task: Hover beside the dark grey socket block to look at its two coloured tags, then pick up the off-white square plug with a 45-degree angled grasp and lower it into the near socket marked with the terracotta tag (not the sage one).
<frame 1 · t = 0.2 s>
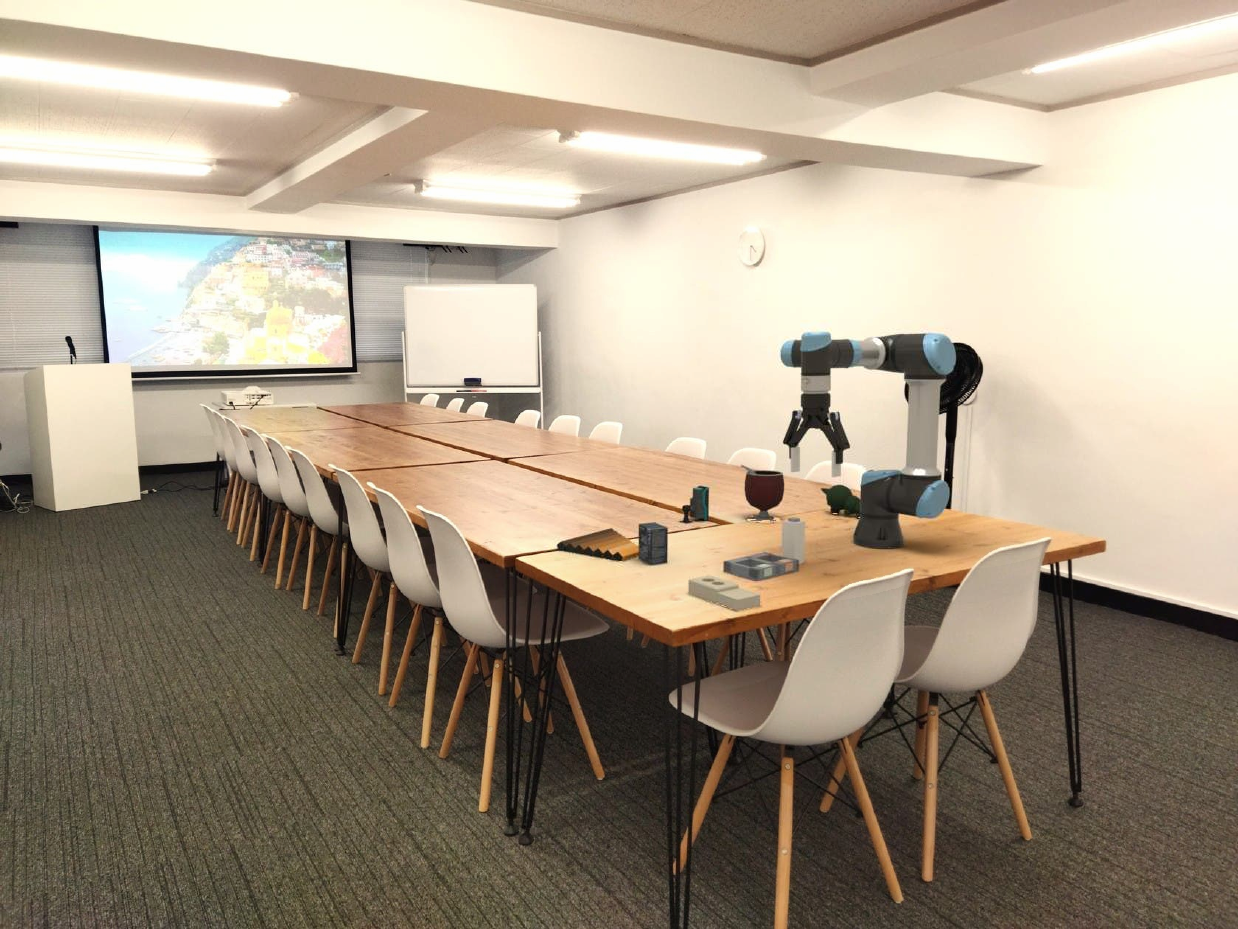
hand: (815, 474, 223), 28 cm above the table, tool pointing down, fingers open, 13 cm apart
pan flute: (614, 550, 261), on the table
plug: (792, 562, 243), on the table
box: (652, 562, 244), on the table
mate gourd: (761, 520, 304), on the table
socket block: (761, 571, 233), on the table
toy figurine: (851, 517, 312), on the table
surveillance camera: (693, 521, 303), on the table
electrical outlet: (722, 602, 207), on the table
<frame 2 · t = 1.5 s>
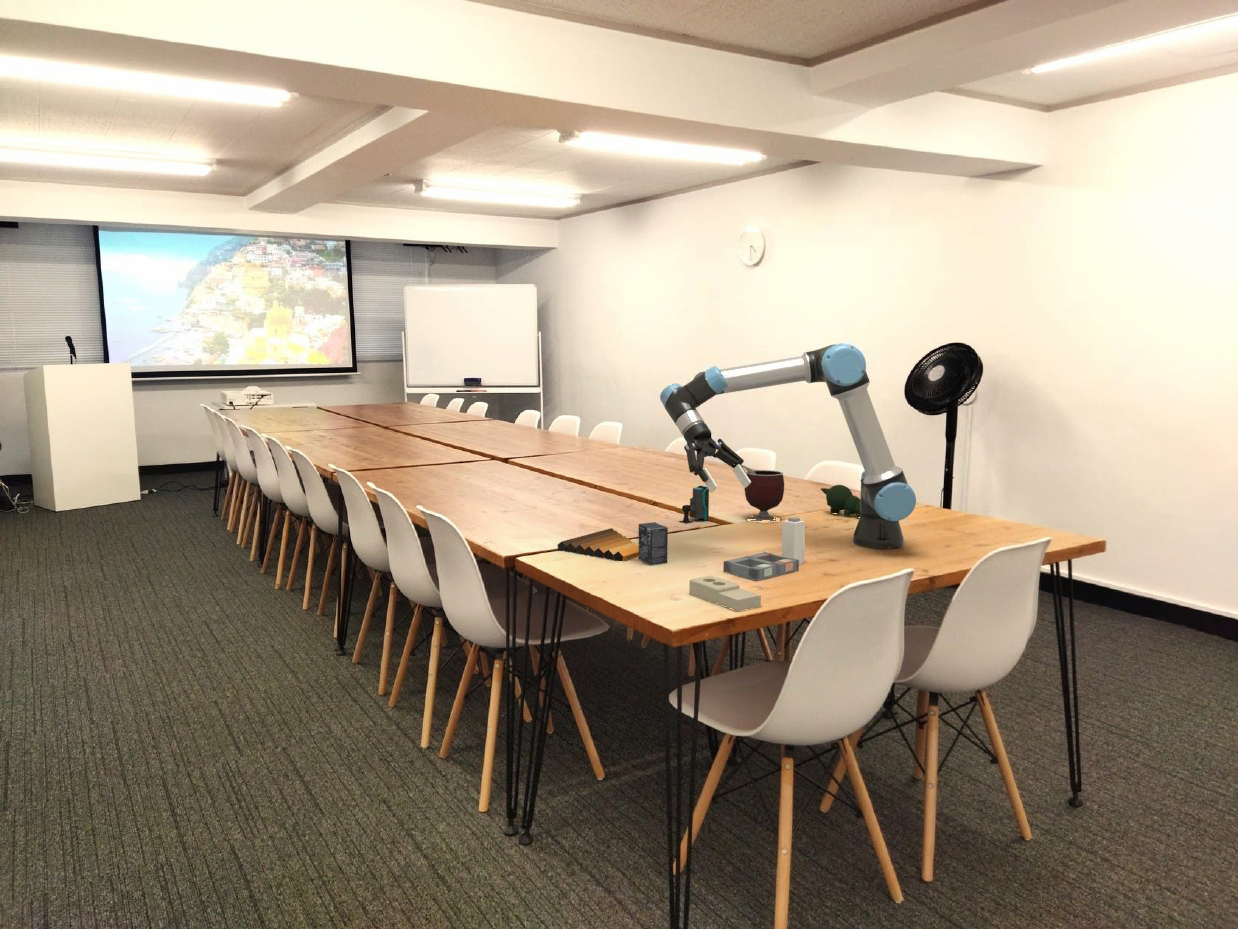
hand: (731, 487, 239), 22 cm above the table, tool tilted 45°, fingers open, 13 cm apart
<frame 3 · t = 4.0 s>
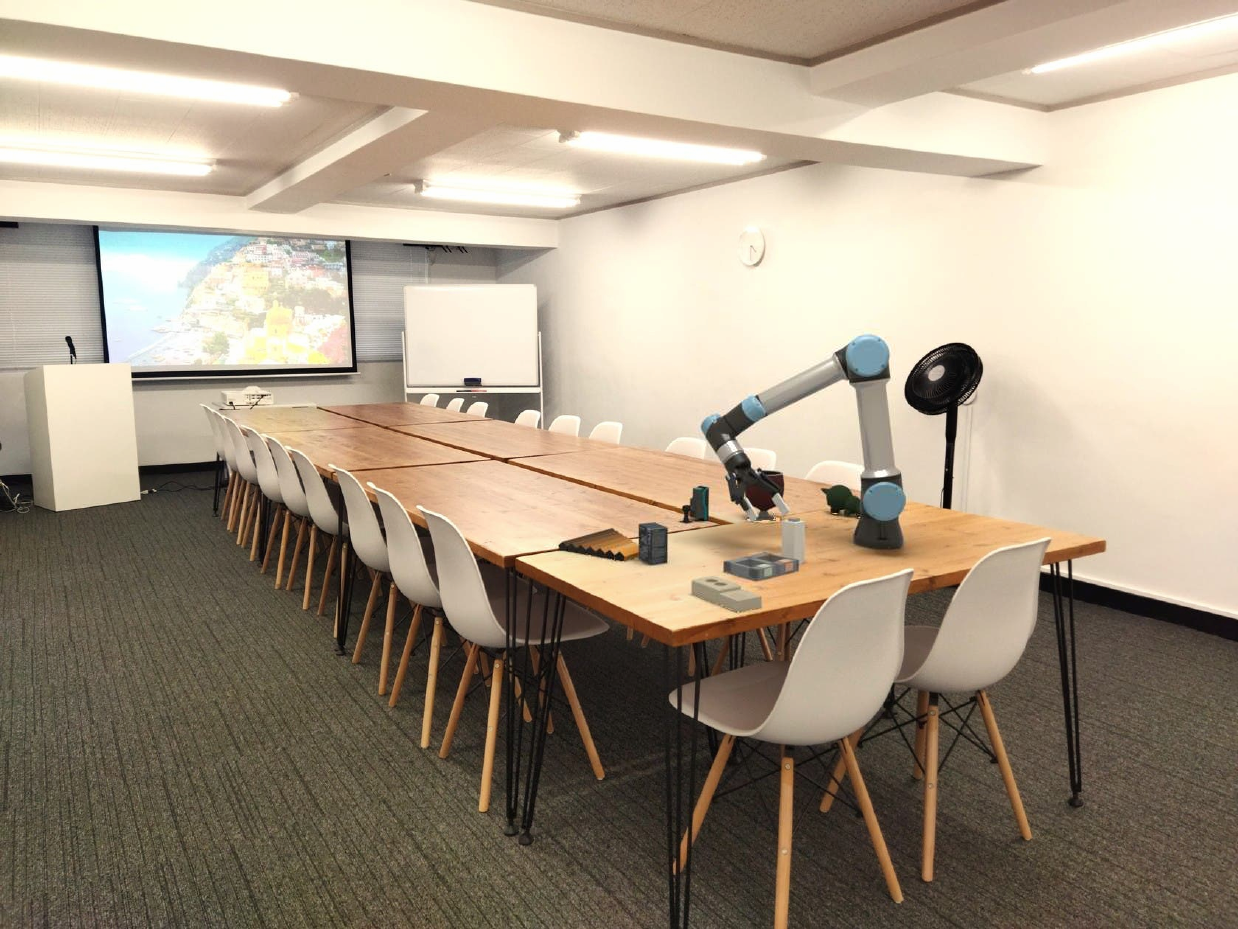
hand: (771, 516, 247), 12 cm above the table, tool tilted 45°, fingers open, 13 cm apart
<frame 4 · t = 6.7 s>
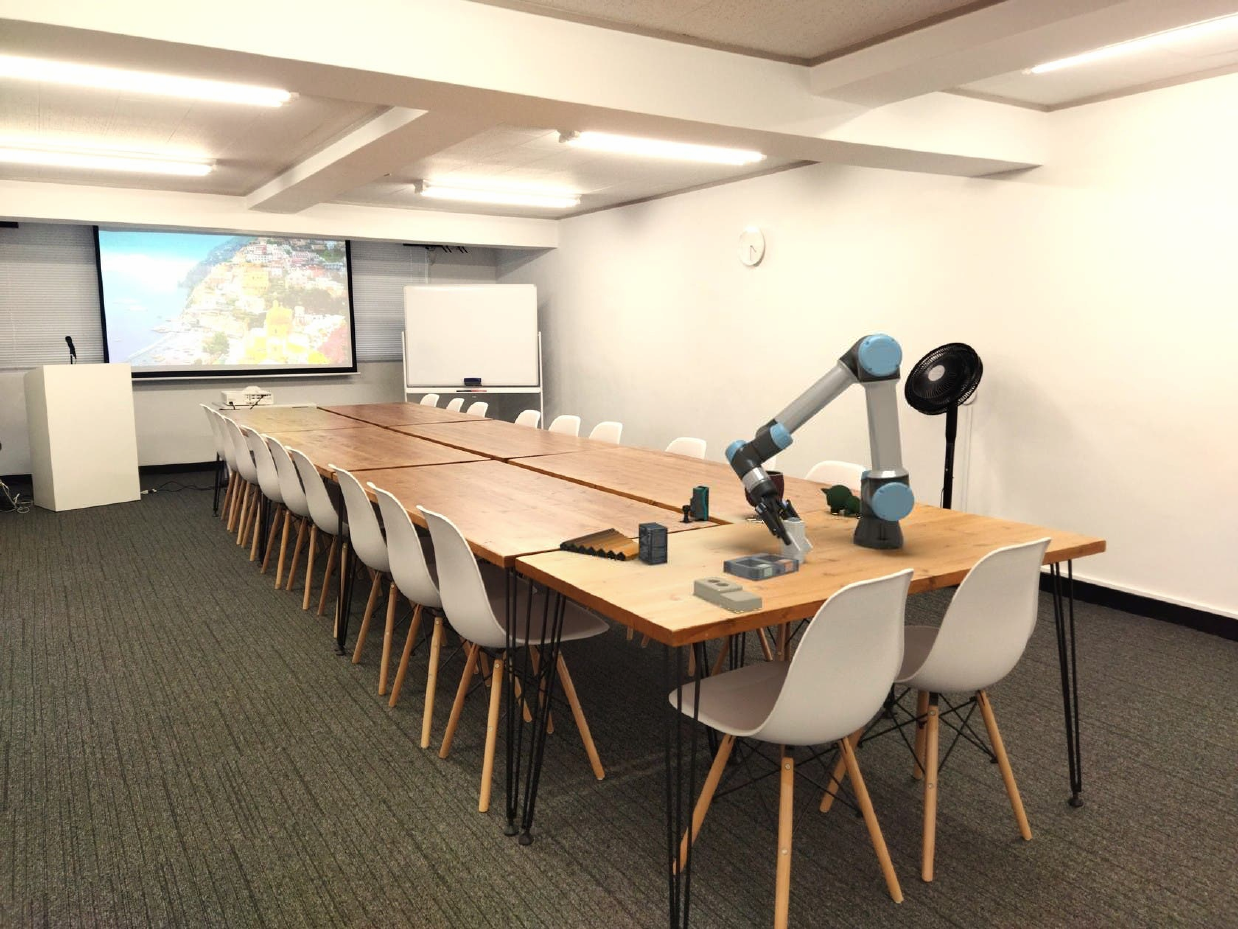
hand: (803, 552, 240), 4 cm above the table, tool tilted 45°, fingers closed on plug, 4 cm apart
plug: (792, 562, 243), on the table, touching gripper
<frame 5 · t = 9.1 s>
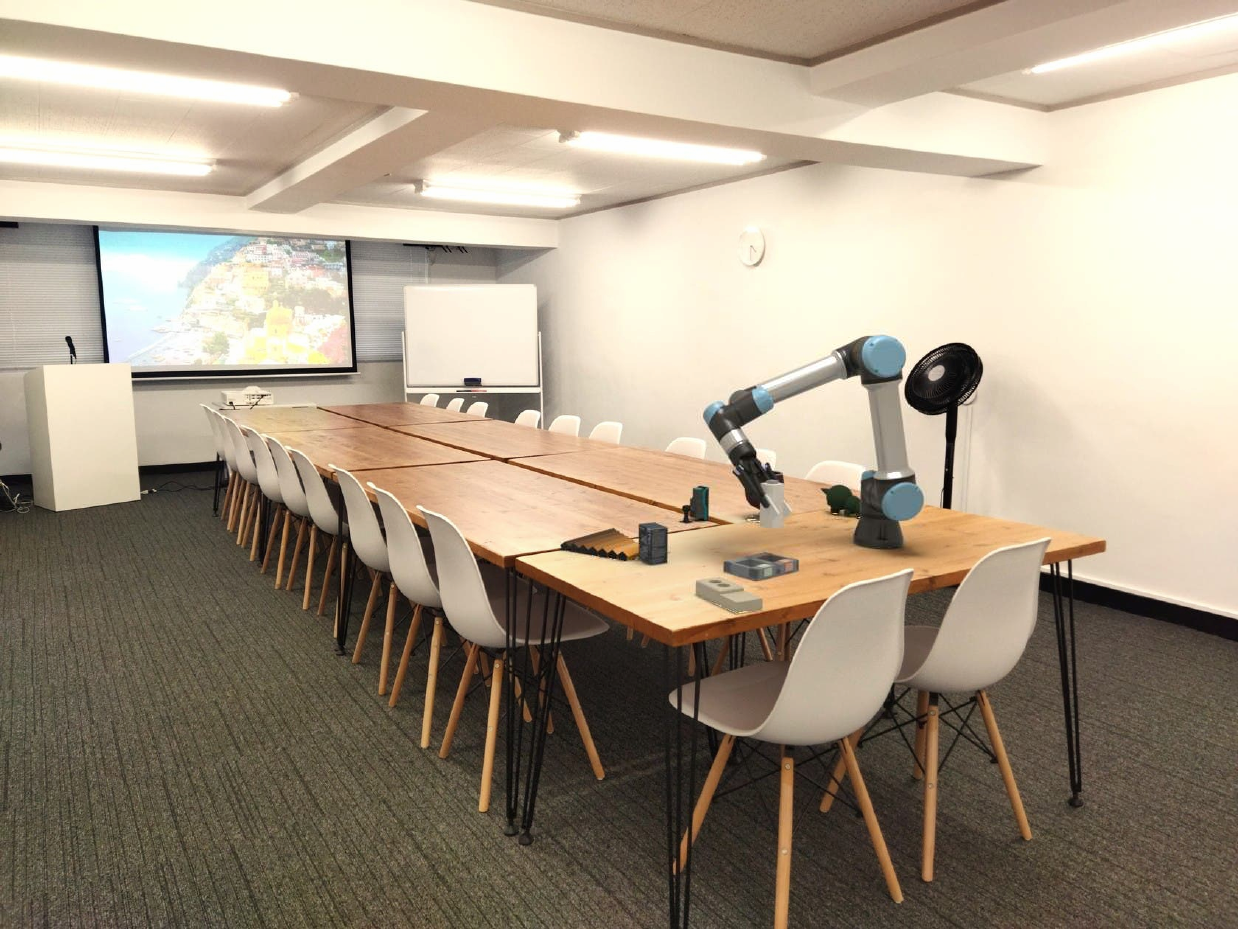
hand: (782, 515, 231), 16 cm above the table, tool tilted 45°, fingers closed on plug, 4 cm apart
plug: (771, 526, 235), point 12 cm above the table, touching gripper
when the fingers open (5 cm above the table, at t = 11.5 s): plug stays where it is, resting on socket block.
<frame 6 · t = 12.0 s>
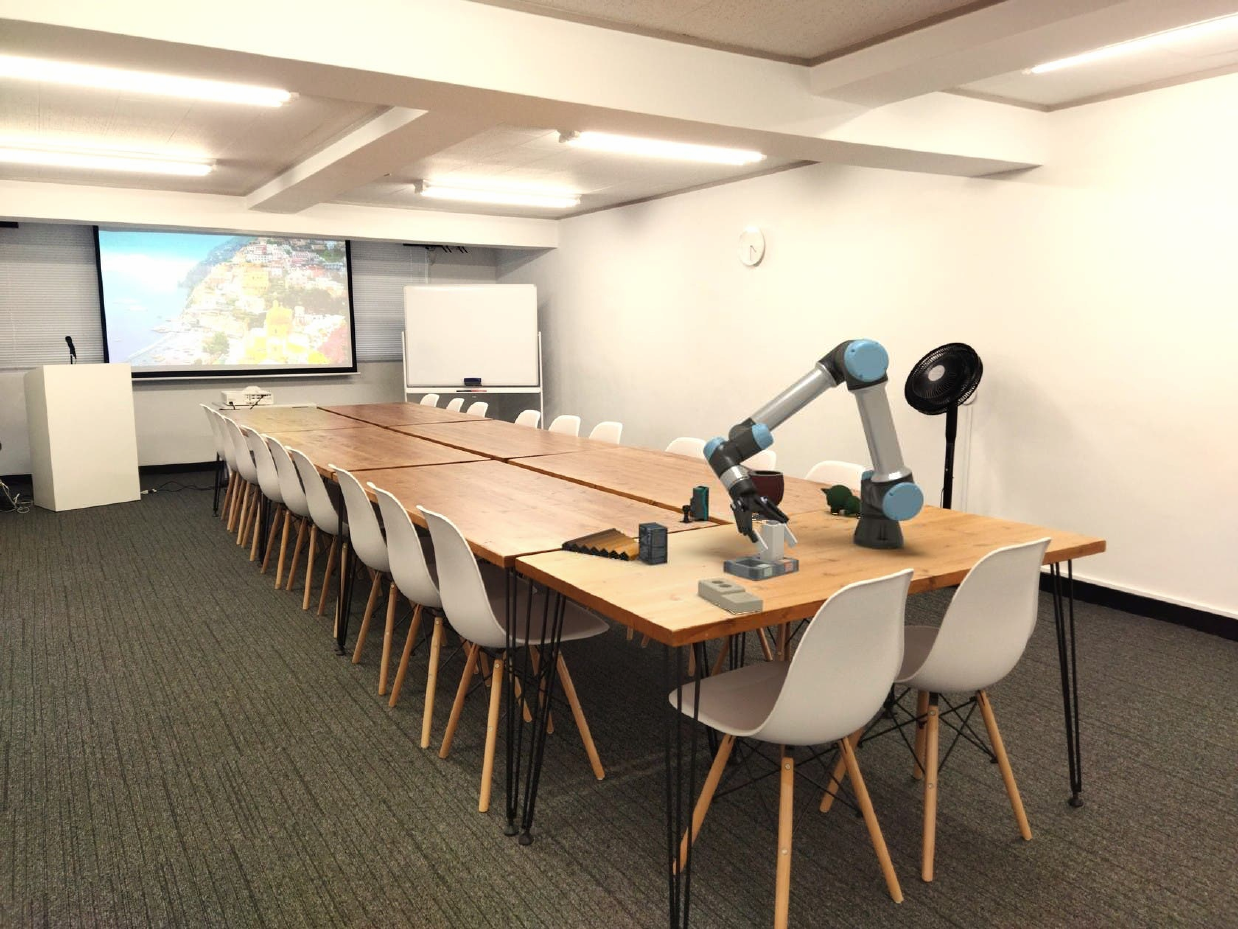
hand: (779, 548, 233), 6 cm above the table, tool tilted 45°, fingers open, 11 cm apart
plug: (771, 566, 236), point 1 cm above the table, touching socket block
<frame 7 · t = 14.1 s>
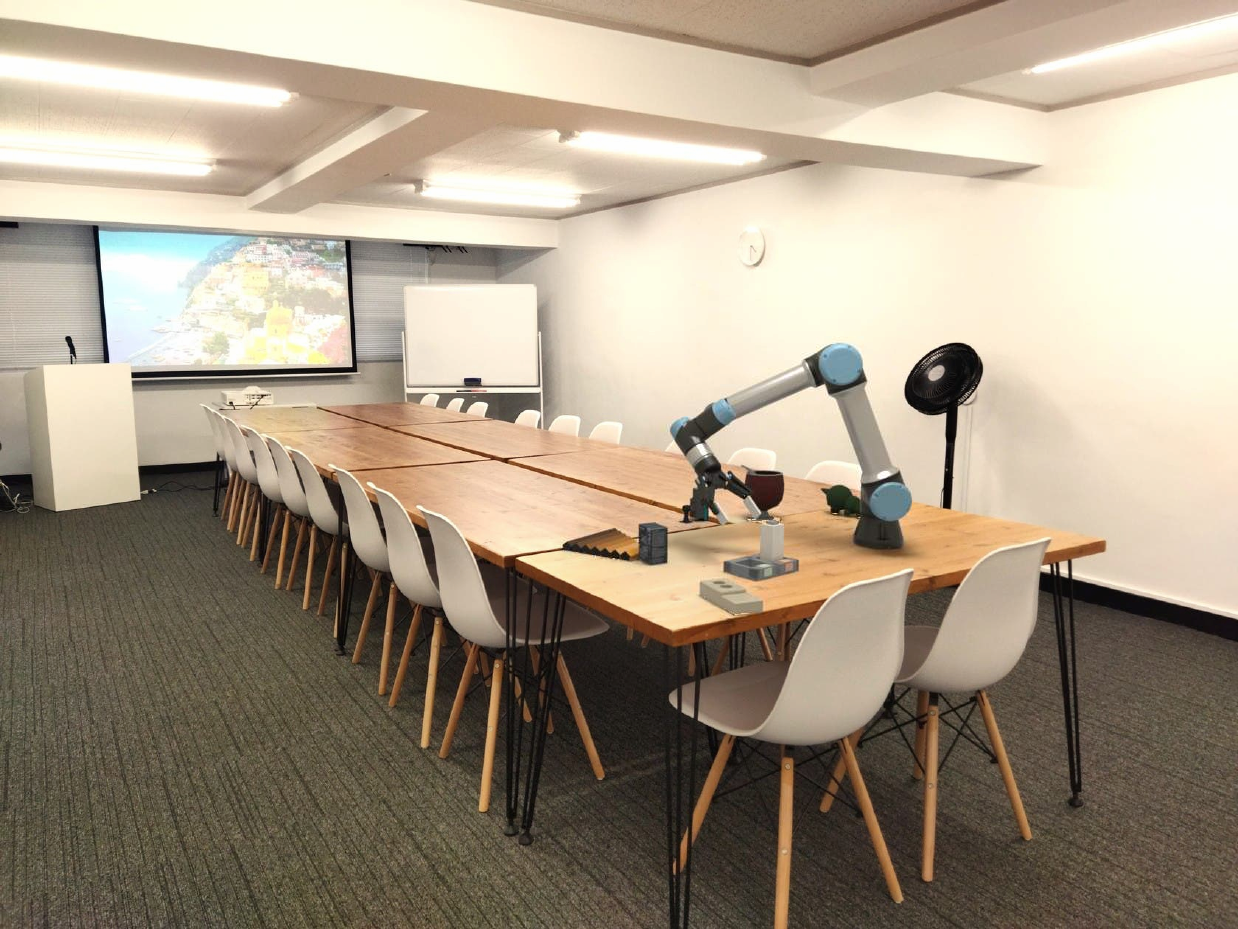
hand: (742, 519, 243), 12 cm above the table, tool tilted 45°, fingers open, 13 cm apart
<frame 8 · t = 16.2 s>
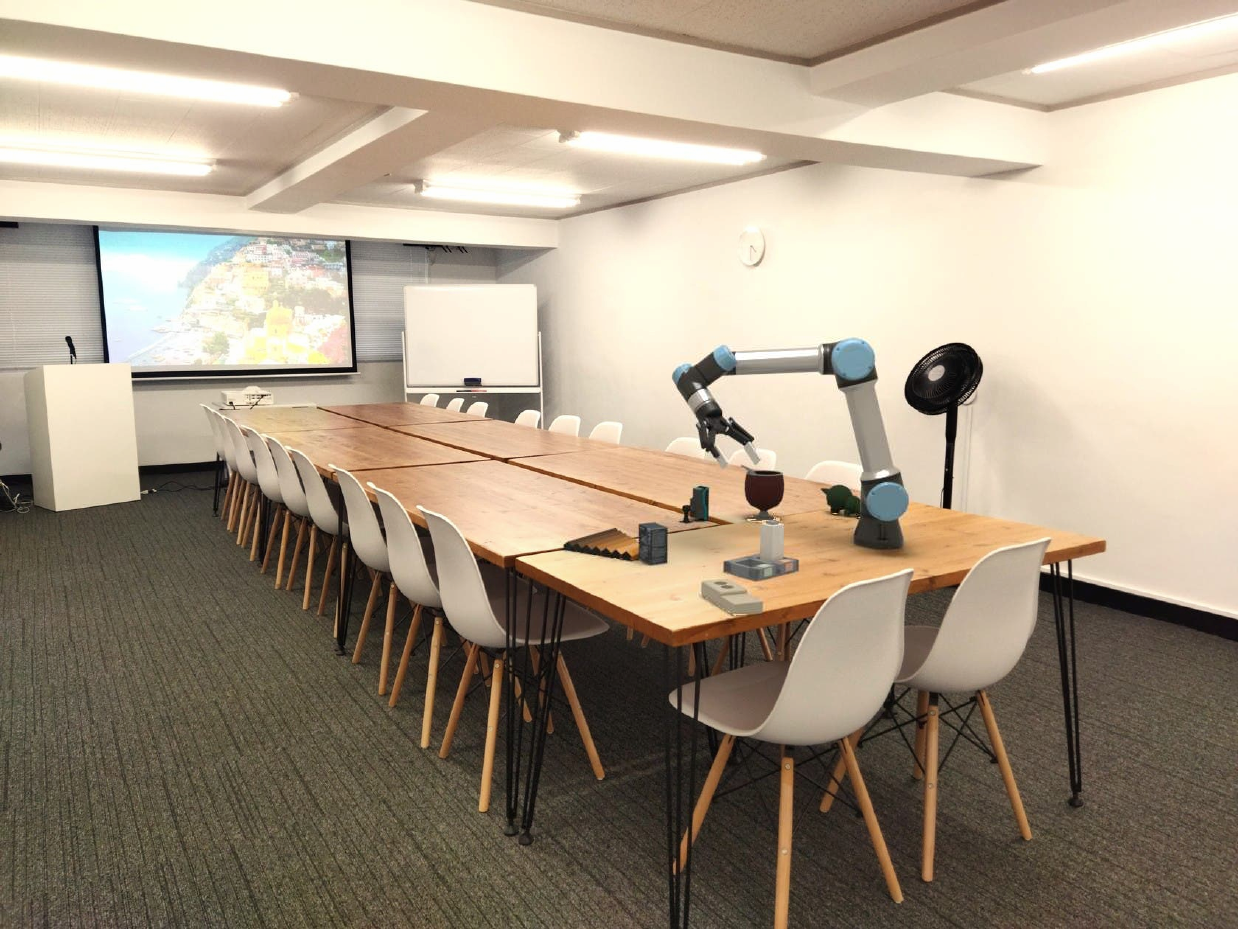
hand: (742, 463, 244), 28 cm above the table, tool tilted 45°, fingers open, 13 cm apart
at the end: plug inside the target area (0.1 cm from its centre), point 0.6 cm above the table; plug tilted 0°; the gripper is holding nothing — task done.
